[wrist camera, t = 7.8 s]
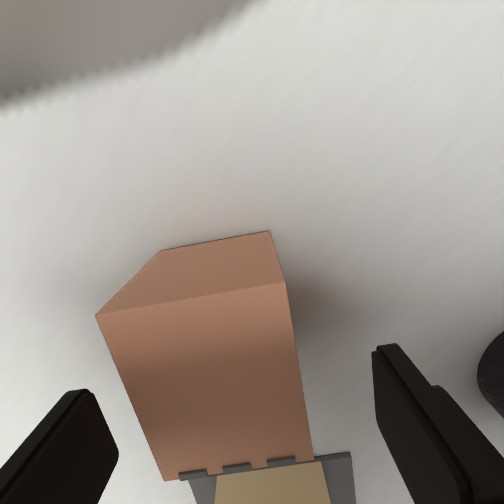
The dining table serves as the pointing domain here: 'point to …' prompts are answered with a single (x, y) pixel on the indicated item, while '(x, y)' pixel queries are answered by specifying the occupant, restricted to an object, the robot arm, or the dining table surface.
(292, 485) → the tan and teal block
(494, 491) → the robot arm
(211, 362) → the stub
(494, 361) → the travel mug
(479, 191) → the dining table surface
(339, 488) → the mat
